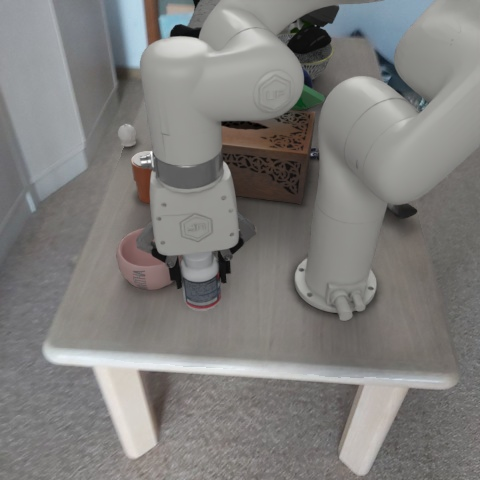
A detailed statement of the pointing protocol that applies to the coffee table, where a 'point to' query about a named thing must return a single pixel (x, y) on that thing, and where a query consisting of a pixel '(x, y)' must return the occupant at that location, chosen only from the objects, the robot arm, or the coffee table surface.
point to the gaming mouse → (309, 40)
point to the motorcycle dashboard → (322, 16)
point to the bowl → (311, 57)
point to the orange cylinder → (141, 177)
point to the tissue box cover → (269, 155)
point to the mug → (141, 264)
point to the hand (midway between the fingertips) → (200, 278)
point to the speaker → (195, 19)
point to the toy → (308, 99)
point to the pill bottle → (200, 280)
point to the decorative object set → (127, 135)
